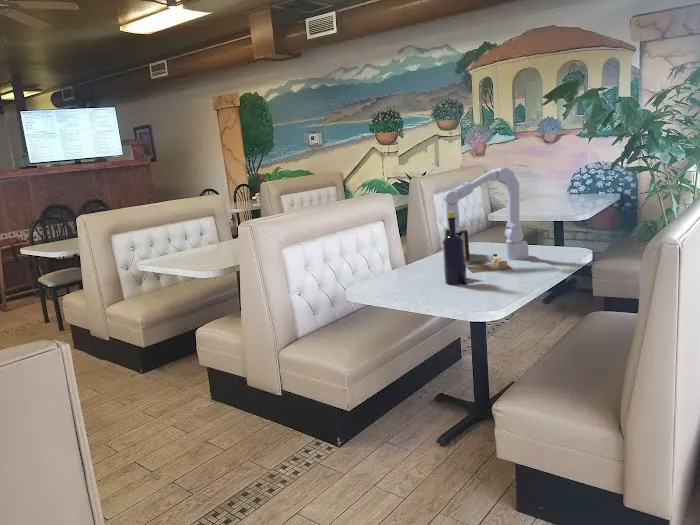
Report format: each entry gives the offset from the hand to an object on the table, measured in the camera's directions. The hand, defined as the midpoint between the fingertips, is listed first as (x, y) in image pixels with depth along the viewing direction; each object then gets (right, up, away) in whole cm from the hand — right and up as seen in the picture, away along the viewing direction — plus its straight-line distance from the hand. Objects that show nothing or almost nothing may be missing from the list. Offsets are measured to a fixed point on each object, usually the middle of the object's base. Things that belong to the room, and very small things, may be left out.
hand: (454, 245), depth 262 cm
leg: (+18, -9, -10) cm, 23 cm away
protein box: (+5, -7, +17) cm, 19 cm away
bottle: (-4, -16, -25) cm, 30 cm away
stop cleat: (+10, -8, -2) cm, 13 cm away
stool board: (+13, -11, -9) cm, 19 cm away
